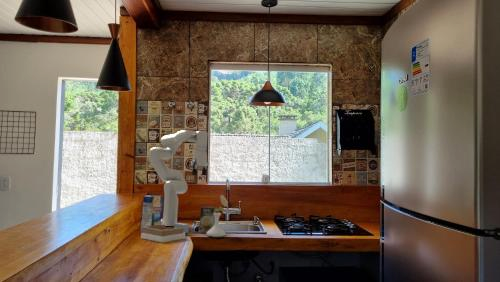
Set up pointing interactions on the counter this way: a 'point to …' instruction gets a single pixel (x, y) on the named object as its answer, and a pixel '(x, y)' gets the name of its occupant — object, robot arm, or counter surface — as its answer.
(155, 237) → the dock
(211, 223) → the coffee box
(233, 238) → the counter surface
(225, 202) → the flower in vase
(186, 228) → the tall pale blue box
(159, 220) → the beverage box
